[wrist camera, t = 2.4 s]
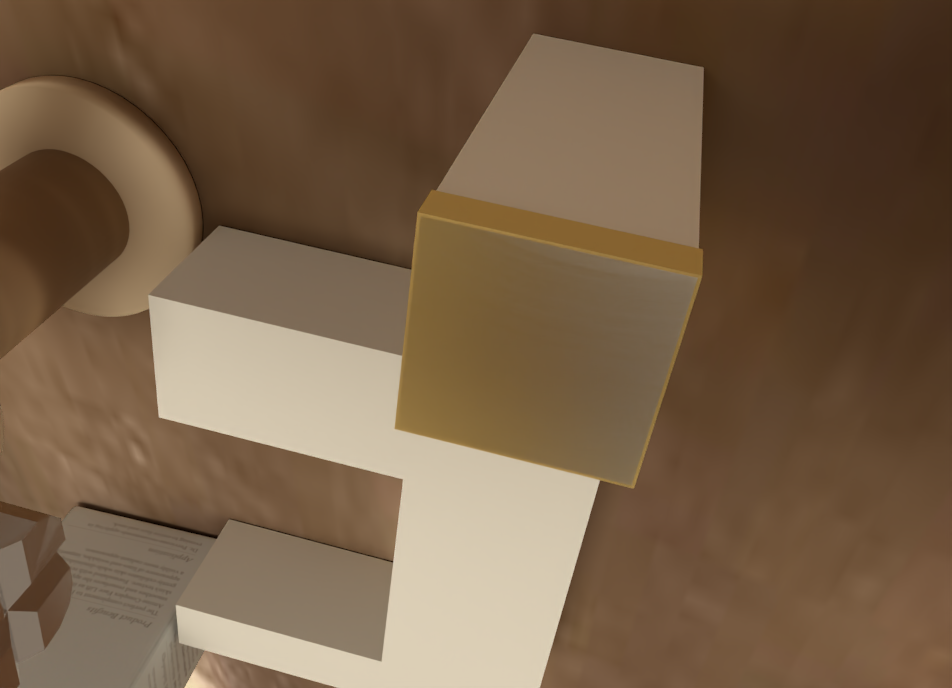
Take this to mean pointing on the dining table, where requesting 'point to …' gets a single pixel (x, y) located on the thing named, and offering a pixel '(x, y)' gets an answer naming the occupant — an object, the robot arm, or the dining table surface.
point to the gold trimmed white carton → (559, 263)
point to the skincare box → (120, 606)
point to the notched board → (363, 446)
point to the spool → (85, 205)
